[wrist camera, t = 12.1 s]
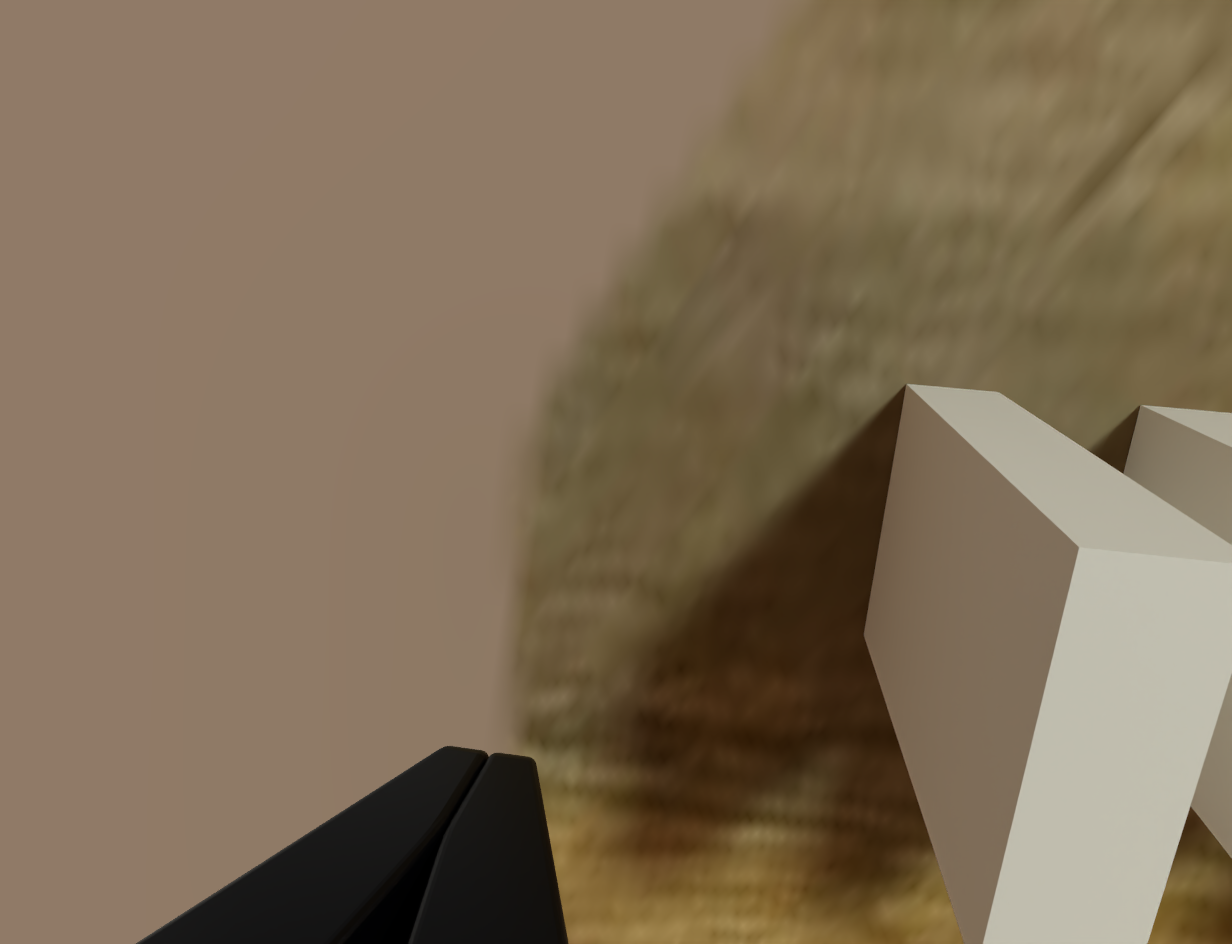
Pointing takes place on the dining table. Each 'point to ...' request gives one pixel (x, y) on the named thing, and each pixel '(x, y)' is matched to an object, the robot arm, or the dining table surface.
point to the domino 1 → (1044, 668)
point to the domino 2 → (1222, 503)
